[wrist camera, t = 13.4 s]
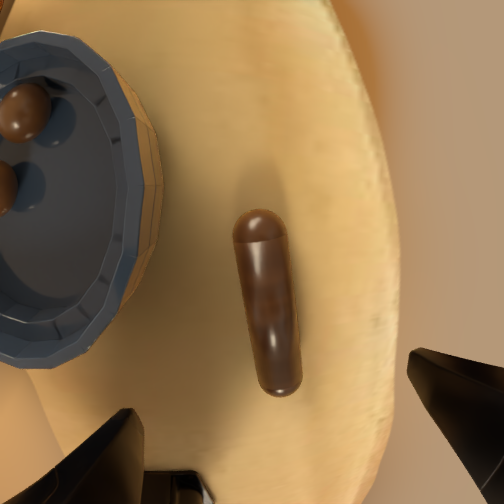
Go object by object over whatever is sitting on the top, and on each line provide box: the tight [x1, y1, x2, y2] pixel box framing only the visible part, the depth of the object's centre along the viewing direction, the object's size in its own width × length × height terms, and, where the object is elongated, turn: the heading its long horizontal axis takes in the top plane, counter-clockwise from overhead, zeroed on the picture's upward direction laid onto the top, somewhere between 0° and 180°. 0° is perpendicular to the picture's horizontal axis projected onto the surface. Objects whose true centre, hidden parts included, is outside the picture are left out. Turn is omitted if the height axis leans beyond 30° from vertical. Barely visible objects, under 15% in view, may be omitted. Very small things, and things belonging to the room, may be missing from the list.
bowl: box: [0, 30, 164, 369], centre depth 10 cm, size 15×15×4 cm
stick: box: [233, 209, 303, 397], centre depth 14 cm, size 10×2×2 cm, turn 9°
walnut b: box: [0, 83, 52, 143], centre depth 9 cm, size 3×3×3 cm
